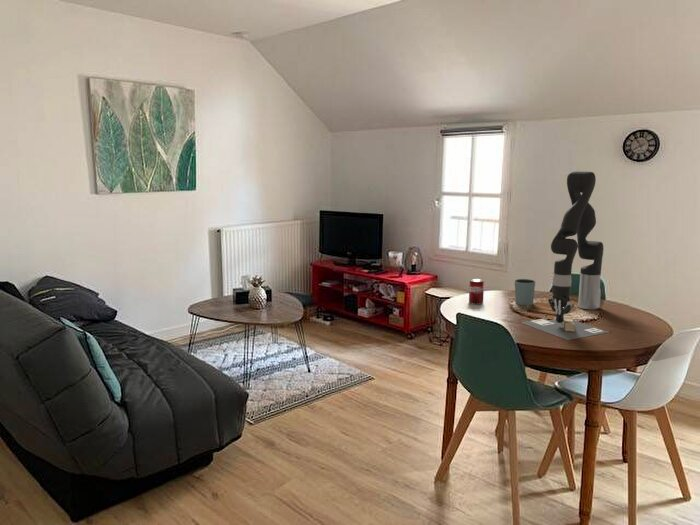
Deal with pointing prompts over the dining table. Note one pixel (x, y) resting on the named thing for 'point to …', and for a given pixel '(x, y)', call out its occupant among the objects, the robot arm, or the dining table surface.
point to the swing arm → (568, 322)
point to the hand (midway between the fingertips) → (559, 322)
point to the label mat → (559, 330)
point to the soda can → (476, 291)
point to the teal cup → (524, 291)
